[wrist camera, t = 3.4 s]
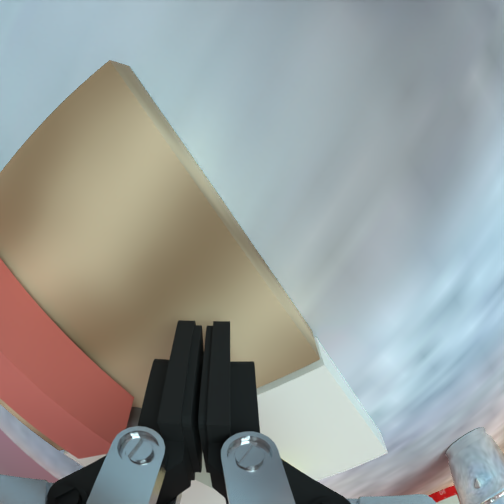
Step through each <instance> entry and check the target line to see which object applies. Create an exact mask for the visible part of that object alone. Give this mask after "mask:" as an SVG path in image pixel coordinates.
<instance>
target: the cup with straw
mask: <svg viewBox="0 0 504 504" xmlns="http://www.w3.org/2000/svg"><path fill="white" fill-rule="evenodd" d="M445 454H446V456H447V457H448V461H449V463H448V465H449V468H450V472H451V475H452V479H453V483H454V486H455V490H456V494H457V498H458V502H459V504H504V453H503V452H502V451H501V449H500V448H499V446H498V445H497V444H496V442H495V441H494V440H493V438H492V437H491V436H490V435H488V434H487V433H486V430H485V428H484V427H481V428H477V429H475V430H473V431H471V432H469V433H467V434H466V435H464V436H463V437H461V438H460V439H458V440H457V441H456V442H455V443H453V444H452V445H451V446H450V447H449V448H448V450H447V451H446V453H445Z"/></svg>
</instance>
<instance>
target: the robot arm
mask: <svg viewBox="0 0 504 504" xmlns="http://www.w3.org/2000/svg"><path fill="white" fill-rule="evenodd" d="M202 454H203V456H204V462H205V467H206V472H207V473H210V477H211V483H212V488H214V489H215V490H216V491H217V492H218V493H220V494H221V495H222V496H223V497H224V498H225V502H226V504H436V502H435V501H434V500H433V499H432V498H431V497H429V496H427V495H422V494H415V495H401V496H379V497H359V498H358V499H346V498H344V497H343V496H341V495H340V494H338V493H336V492H334V491H333V490H331V489H329V488H327V487H326V486H324V485H322V484H321V483H319V482H317V481H316V480H314V479H312V478H311V477H309V476H307V475H306V474H304V473H303V472H301V471H299V470H298V469H296V468H295V467H293V466H292V465H290V464H289V463H287V462H286V461H284V460H283V459H281V457H280V454H279V451H278V448H277V446H276V444H275V443H274V442H273V441H272V440H271V439H270V438H269V437H268V436H266V435H264V434H262V433H260V426H259V413H258V401H257V389H256V376H255V364H254V361H230V321H213V326H207V327H206V337H205V347H203V334H202V325H196V322H195V321H184V320H178V323H177V327H176V331H175V336H174V341H173V345H172V350H171V355H170V359H169V360H166V359H154V361H153V364H152V367H151V371H150V375H149V379H148V383H147V387H146V392H145V396H144V400H143V404H142V408H141V413H140V417H139V422H138V426H135V427H129V428H127V429H125V430H123V431H121V432H120V433H119V434H117V436H116V437H115V439H114V440H113V442H112V444H111V447H110V449H109V451H108V453H107V455H106V456H104V457H102V458H100V459H99V460H97V461H95V462H93V463H91V464H89V465H87V466H86V467H84V468H82V469H80V470H78V471H76V472H74V473H72V474H70V475H68V476H66V477H64V478H62V479H60V480H58V481H57V482H56V483H48V482H47V481H46V480H38V479H30V478H21V477H14V476H7V475H1V474H0V504H180V501H181V497H182V492H183V491H185V490H186V489H188V488H189V487H190V486H191V480H195V472H200V473H201V471H202Z"/></svg>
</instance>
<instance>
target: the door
mask: <svg viewBox="0 0 504 504" xmlns="http://www.w3.org/2000/svg"><path fill="white" fill-rule="evenodd" d="M314 340H315V343H316V346H317V350H318V353H319V356H320V360H318V361H316V362H314V363H312V364H310V365H308V366H306V367H303V368H301V369H299V370H297V371H295V372H293V373H291V374H289V375H286V376H284V377H282V378H280V379H277V380H275V381H273V382H271V383H268V384H266V385H264V386H261V387H259V388H257V401H258V413H259V426H260V433H262V434H264V435H266V436H268V437H269V438H270V439H271V440H272V441H273V442H274V443H275V444H276V446H277V448H278V451H279V454H280V457H281V459H283V460H284V461H286V462H287V463H289V464H290V465H292V466H293V467H295V468H296V469H298V470H299V471H301V472H303V473H304V474H306V475H307V476H309V477H311V478H312V479H314V480H316V481H319V480H322V479H325V478H328V477H330V476H333V475H336V474H339V473H341V472H344V471H347V470H349V469H352V468H354V467H357V466H359V465H361V464H364V463H366V462H369V461H371V460H373V459H375V458H378V457H380V456H382V455H384V454H386V453H388V452H387V449H386V446H385V443H384V440H383V438H382V435H381V432H380V431H379V429H378V428H377V426H376V425H375V423H374V422H373V420H372V419H371V417H370V416H369V414H368V413H367V411H366V410H365V408H364V407H363V405H362V404H361V402H360V401H359V400H358V398H357V397H356V395H355V394H354V392H353V391H352V389H351V388H350V386H349V385H348V383H347V382H346V380H345V379H344V377H343V376H342V374H341V373H340V372H339V370H338V369H337V367H336V366H335V364H334V363H333V361H332V360H331V358H330V357H329V355H328V354H327V352H326V351H325V349H324V348H323V347H322V345H321V344H320V342H319V341H318V339H317V338H316V336H315V337H314ZM64 454H65V455H66V456H68V457H69V458H71V459H72V460H74V461H75V462H77V463H79V464H80V465H82V466H83V467H86V466H87V465H89V464H91V463H93V462H95V461H97V460H99V459H100V458H102V457H104V456H106V454H103V455H98V456H92V457H87V458H81V459H78V458H76V457H75V456H73V455H72V454H70V453H69V452H67V451H66V450H65V451H64ZM180 504H226V502H225V498H224V497H223V496H222V495H221V494H220V493H218V492H217V491H216V490H215V489H214V488H212V483H211V477H210V473H207V472H206V467H205V462H204V456H203V454H202V471H201V473H200V472H195V480H191V486H190V487H189V488H188V489H186V490H185V491H183V492H182V497H181V501H180Z"/></svg>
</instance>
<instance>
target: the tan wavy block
mask: <svg viewBox="0 0 504 504" xmlns="http://www.w3.org/2000/svg"><path fill="white" fill-rule="evenodd" d="M0 258H1V260H2V261H3V262H4V264H5V265H6V266H7V268H8V269H9V270H10V271H11V273H12V274H13V275H14V277H15V278H16V279H17V280H18V282H19V283H20V284H21V285H22V286H23V288H24V289H25V290H26V291H27V293H28V294H29V295H30V296H31V297H32V298H33V300H34V301H35V302H36V303H37V304H38V305H39V306H40V308H41V309H42V310H43V311H44V312H45V313H46V314H47V315H48V316H49V318H50V319H51V320H52V321H53V322H54V323H55V324H56V325H57V326H58V327H59V328H60V329H61V330H62V331H63V332H64V334H65V335H66V336H67V337H68V338H69V339H70V340H71V341H72V342H73V343H74V344H75V345H76V346H77V347H78V348H79V349H80V350H81V351H83V352H84V353H85V354H86V355H87V356H88V357H89V358H90V359H91V360H92V361H93V362H94V363H95V364H96V365H97V366H98V367H100V368H101V369H102V370H103V371H104V372H105V373H106V374H107V375H108V376H110V377H111V378H112V379H113V380H114V381H115V382H116V383H118V384H119V385H120V386H121V387H122V388H123V389H125V390H126V391H127V392H128V393H129V394H131V395H132V396H133V397H134V399H133V403H132V407H131V411H130V415H129V419H128V423H127V427H126V429H127V428H129V427H135V426H138V422H139V417H140V413H141V408H142V404H143V400H144V396H145V392H146V387H147V383H148V379H149V375H150V371H151V367H152V364H153V361H154V359H166V360H169V359H170V355H171V350H172V345H173V341H174V336H175V331H176V327H177V323H178V320H184V321H195V322H196V325H202V334H203V347H205V337H206V327H207V326H213V321H230V361H254V364H255V376H256V389H257V388H259V387H261V386H264V385H266V384H268V383H271V382H273V381H275V380H277V379H280V378H282V377H284V376H286V375H289V374H291V373H293V372H295V371H297V370H299V369H301V368H303V367H306V366H308V365H310V364H312V363H314V362H316V361H318V360H320V356H319V353H318V350H317V346H316V343H315V340H314V337H313V333H312V330H311V329H310V327H309V326H308V325H307V323H306V322H305V320H304V319H303V317H302V316H301V314H300V313H299V311H298V310H297V308H296V307H295V305H294V304H293V303H292V301H291V300H290V298H289V297H288V295H287V294H286V292H285V291H284V289H283V288H282V286H281V285H280V284H279V282H278V281H277V279H276V278H275V276H274V275H273V273H272V272H271V270H270V269H269V268H268V266H267V265H266V263H265V262H264V260H263V259H262V257H261V256H260V254H259V253H258V251H257V250H256V249H255V247H254V246H253V244H252V243H251V241H250V240H249V238H248V237H247V235H246V234H245V233H244V231H243V230H242V228H241V227H240V225H239V224H238V222H237V221H236V219H235V218H234V217H233V215H232V214H231V212H230V211H229V209H228V208H227V206H226V205H225V204H224V202H223V201H222V199H221V198H220V196H219V195H218V193H217V192H216V190H215V189H214V188H213V186H212V185H211V183H210V182H209V180H208V179H207V177H206V176H205V175H204V173H203V172H202V170H201V169H200V167H199V166H198V164H197V163H196V162H195V160H194V159H193V157H192V156H191V154H190V153H189V151H188V150H187V149H186V147H185V146H184V144H183V143H182V141H181V140H180V138H179V137H178V136H177V134H176V133H175V131H174V130H173V128H172V127H171V125H170V124H169V123H168V121H167V120H166V118H165V117H164V115H163V114H162V113H161V111H160V110H159V108H158V107H157V105H156V104H155V102H154V101H153V100H152V98H151V97H150V95H149V94H148V92H147V91H146V90H145V88H144V87H143V85H142V84H141V82H140V81H139V80H138V78H137V77H136V75H135V74H134V72H133V71H132V70H131V68H130V67H129V66H127V65H124V64H121V63H117V62H114V61H111V60H109V61H108V62H107V63H106V64H104V65H103V66H102V67H101V68H100V69H98V70H97V71H96V72H95V73H94V74H93V75H91V76H90V77H89V78H88V79H87V80H86V81H85V82H84V83H82V84H81V85H80V86H79V87H78V88H77V89H76V90H75V91H74V92H73V93H72V94H71V95H70V96H68V97H67V98H66V99H65V100H64V101H63V102H62V103H61V104H60V105H59V106H58V107H57V108H56V109H55V110H54V111H53V112H52V113H51V114H50V115H49V116H48V117H47V119H46V120H45V121H44V122H43V123H42V124H41V125H40V126H39V127H38V128H37V129H36V130H35V132H34V133H33V134H32V135H31V136H30V137H29V138H28V139H27V141H26V142H25V143H24V144H23V145H22V146H21V148H20V149H19V150H18V151H17V152H16V154H15V155H14V156H13V157H12V159H11V160H10V161H9V162H8V164H7V165H6V166H5V167H4V169H3V170H2V171H1V173H0ZM0 404H1V405H2V406H3V407H4V408H5V409H6V410H8V411H9V412H10V413H11V414H12V415H13V416H15V417H16V418H17V419H18V420H19V421H21V422H22V423H23V424H24V425H25V426H27V427H28V428H29V429H31V430H32V431H33V432H34V433H36V434H37V435H38V436H40V437H41V438H42V439H44V440H45V441H46V442H48V443H49V444H50V445H52V446H53V447H55V448H56V449H58V450H64V449H63V448H62V447H60V446H59V445H57V444H56V443H54V442H53V441H52V440H50V439H49V438H48V437H46V436H45V435H44V434H42V433H41V432H40V431H38V430H37V429H36V428H35V427H33V426H32V425H31V424H30V423H28V422H27V421H26V420H25V419H23V418H22V417H21V416H20V415H19V414H17V413H16V412H15V411H14V410H13V409H12V408H10V407H9V406H8V405H7V404H6V403H5V402H4V401H3V400H1V399H0ZM106 455H107V454H106Z"/></svg>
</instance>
